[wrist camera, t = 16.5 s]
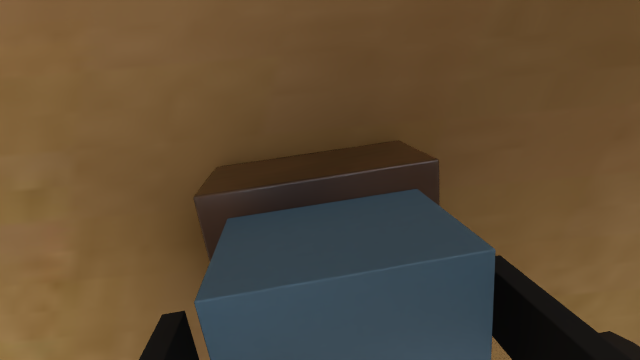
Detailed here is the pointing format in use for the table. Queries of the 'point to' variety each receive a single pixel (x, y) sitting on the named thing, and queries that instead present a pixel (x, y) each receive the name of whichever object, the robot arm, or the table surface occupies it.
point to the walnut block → (311, 182)
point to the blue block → (349, 284)
